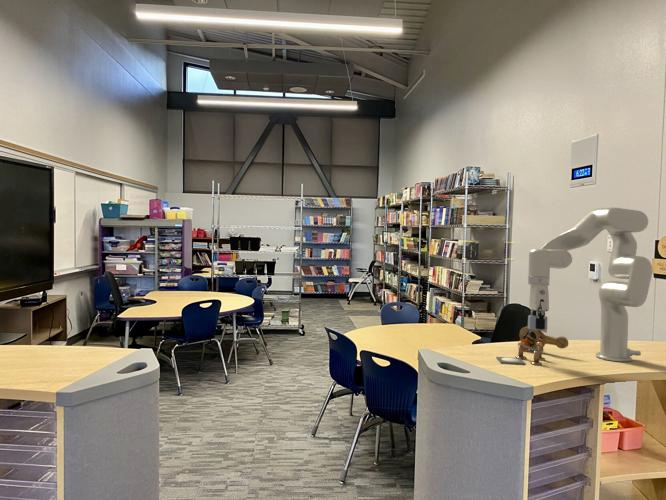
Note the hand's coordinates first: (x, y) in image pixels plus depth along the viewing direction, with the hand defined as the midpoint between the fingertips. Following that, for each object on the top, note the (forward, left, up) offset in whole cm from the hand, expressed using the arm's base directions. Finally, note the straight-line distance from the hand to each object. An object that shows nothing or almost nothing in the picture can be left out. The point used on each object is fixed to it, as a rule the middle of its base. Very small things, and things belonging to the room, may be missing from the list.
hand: (537, 327), depth 181 cm
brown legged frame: (+1, -2, -14) cm, 14 cm away
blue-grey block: (0, 0, -1) cm, 1 cm away
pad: (+10, 0, -14) cm, 17 cm away
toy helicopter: (-7, -21, -14) cm, 26 cm away
